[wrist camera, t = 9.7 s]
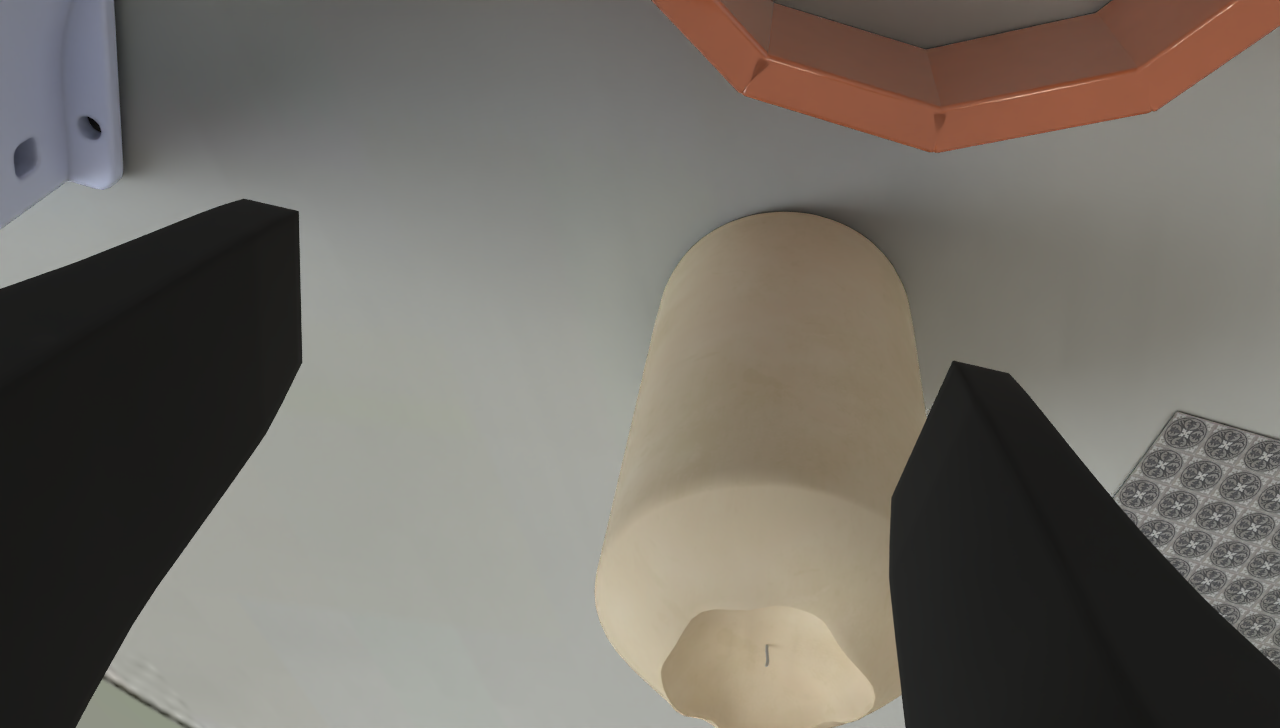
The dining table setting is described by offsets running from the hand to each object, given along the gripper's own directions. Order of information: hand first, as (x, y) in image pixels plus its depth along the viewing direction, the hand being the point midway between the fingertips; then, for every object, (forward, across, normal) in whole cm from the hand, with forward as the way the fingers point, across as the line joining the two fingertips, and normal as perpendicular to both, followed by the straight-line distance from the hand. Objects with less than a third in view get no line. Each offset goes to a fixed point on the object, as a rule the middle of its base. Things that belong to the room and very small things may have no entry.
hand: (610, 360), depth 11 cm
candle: (+10, -3, +5) cm, 12 cm away
